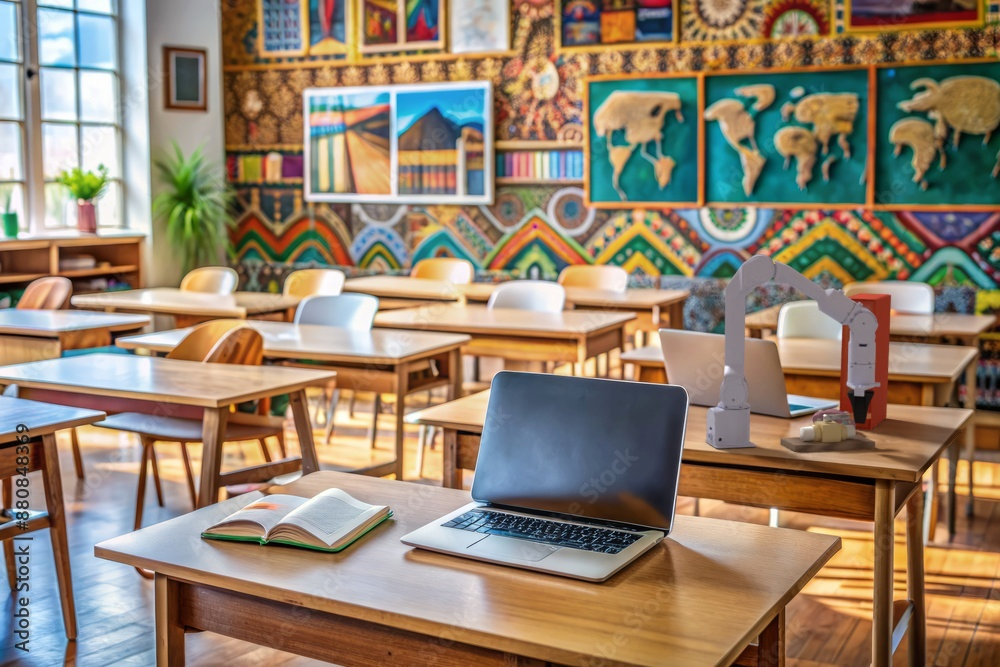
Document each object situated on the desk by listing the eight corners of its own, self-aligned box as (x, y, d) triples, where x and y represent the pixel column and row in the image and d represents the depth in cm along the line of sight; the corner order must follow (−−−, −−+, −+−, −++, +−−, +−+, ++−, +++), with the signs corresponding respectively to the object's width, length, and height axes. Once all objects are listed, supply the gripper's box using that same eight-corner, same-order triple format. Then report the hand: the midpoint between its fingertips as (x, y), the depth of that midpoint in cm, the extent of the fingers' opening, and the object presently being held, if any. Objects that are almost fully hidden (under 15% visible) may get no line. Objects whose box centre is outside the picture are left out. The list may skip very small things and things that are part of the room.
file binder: (887, 418, 278) (891, 294, 274) (872, 430, 263) (875, 299, 260) (855, 415, 282) (858, 293, 278) (838, 427, 267) (841, 298, 264)
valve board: (794, 452, 241) (794, 445, 240) (780, 444, 248) (780, 438, 248) (875, 448, 243) (875, 441, 243) (858, 440, 251) (858, 434, 251)
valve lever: (825, 422, 244) (825, 415, 244) (821, 420, 246) (821, 413, 246) (871, 420, 246) (871, 413, 246) (866, 418, 248) (867, 411, 248)
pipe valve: (806, 445, 243) (806, 425, 242) (798, 441, 247) (798, 422, 247) (856, 442, 244) (857, 423, 244) (847, 438, 249) (848, 420, 248)
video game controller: (812, 436, 264) (809, 413, 260) (815, 425, 267) (813, 402, 264) (854, 440, 259) (852, 416, 256) (857, 428, 263) (855, 405, 259)
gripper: (879, 368, 232) (877, 430, 233) (881, 359, 245) (880, 418, 247) (845, 366, 234) (843, 428, 236) (849, 358, 248) (847, 416, 249)
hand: (860, 423), depth 242 cm, fingers closed
